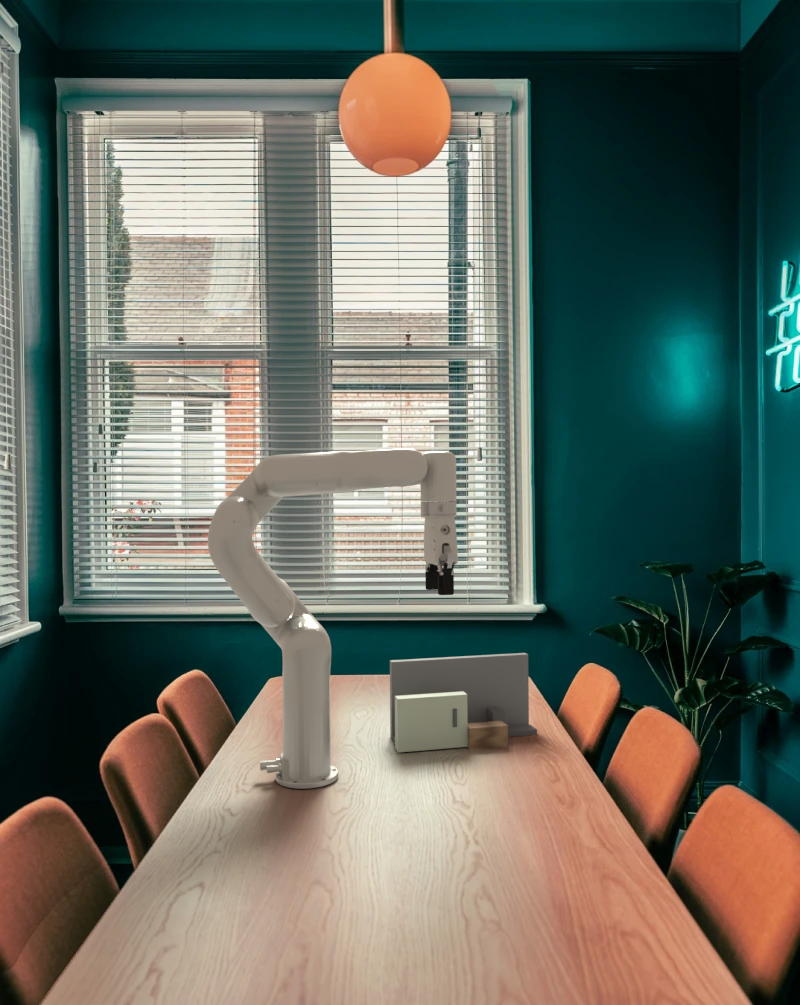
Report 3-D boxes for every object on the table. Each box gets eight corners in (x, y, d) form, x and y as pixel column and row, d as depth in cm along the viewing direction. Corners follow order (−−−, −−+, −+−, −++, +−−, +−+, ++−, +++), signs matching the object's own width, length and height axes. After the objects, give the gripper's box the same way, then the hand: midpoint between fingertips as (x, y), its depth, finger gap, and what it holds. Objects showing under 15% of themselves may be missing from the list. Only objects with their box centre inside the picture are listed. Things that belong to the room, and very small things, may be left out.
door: (398, 753, 169) (398, 699, 169) (395, 748, 172) (394, 695, 172) (468, 747, 172) (467, 694, 172) (463, 742, 176) (463, 691, 176)
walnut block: (469, 750, 171) (469, 728, 171) (464, 745, 175) (464, 723, 175) (508, 747, 173) (507, 725, 173) (501, 742, 177) (501, 720, 177)
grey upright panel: (397, 745, 175) (396, 666, 175) (390, 736, 181) (389, 660, 181) (537, 734, 182) (536, 658, 182) (525, 726, 189) (525, 652, 189)
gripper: (468, 510, 154) (469, 596, 154) (444, 510, 171) (444, 587, 171) (432, 511, 152) (433, 597, 152) (411, 510, 169) (412, 588, 169)
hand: (439, 592), depth 161 cm, fingers open, 9 cm apart
